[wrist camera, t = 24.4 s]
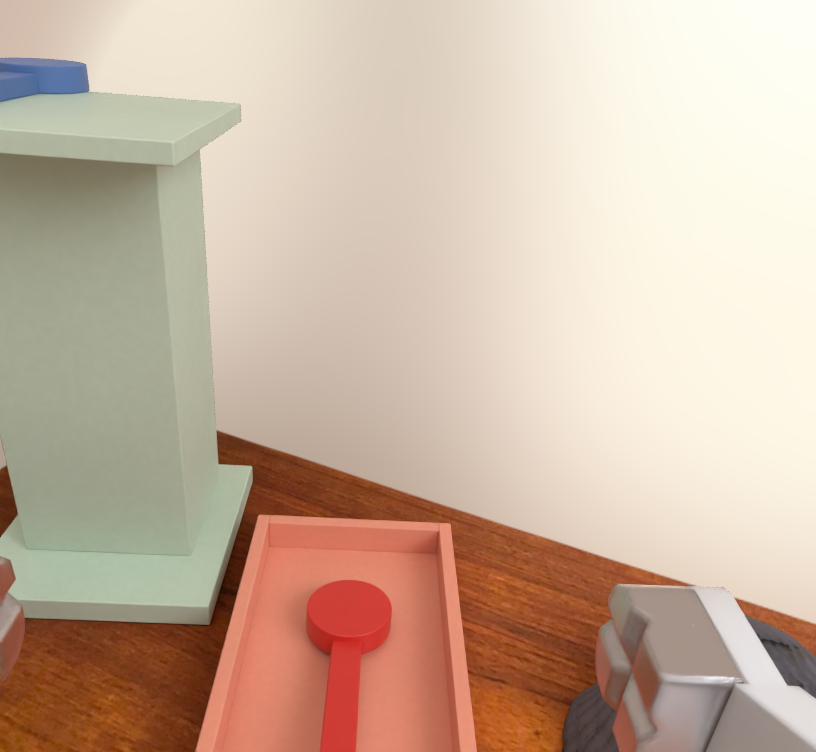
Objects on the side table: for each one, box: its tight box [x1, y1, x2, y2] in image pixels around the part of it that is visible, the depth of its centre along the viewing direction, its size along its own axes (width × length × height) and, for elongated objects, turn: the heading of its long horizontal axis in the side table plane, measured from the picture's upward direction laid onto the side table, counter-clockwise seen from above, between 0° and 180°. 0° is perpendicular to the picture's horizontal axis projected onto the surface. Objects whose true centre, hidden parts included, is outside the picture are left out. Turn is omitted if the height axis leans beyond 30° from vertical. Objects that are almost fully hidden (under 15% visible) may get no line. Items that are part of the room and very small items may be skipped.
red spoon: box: [306, 580, 392, 752], centre depth 33 cm, size 18×5×1 cm, turn 1°
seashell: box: [562, 616, 816, 752], centre depth 32 cm, size 14×19×8 cm
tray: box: [195, 515, 477, 752], centre depth 35 cm, size 13×24×3 cm, turn 1°
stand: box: [0, 92, 253, 625], centre depth 40 cm, size 14×14×27 cm
